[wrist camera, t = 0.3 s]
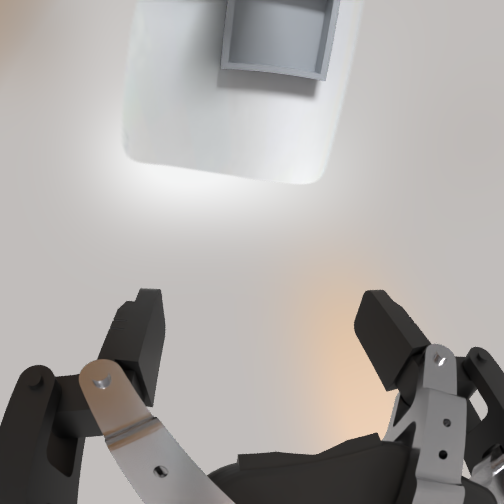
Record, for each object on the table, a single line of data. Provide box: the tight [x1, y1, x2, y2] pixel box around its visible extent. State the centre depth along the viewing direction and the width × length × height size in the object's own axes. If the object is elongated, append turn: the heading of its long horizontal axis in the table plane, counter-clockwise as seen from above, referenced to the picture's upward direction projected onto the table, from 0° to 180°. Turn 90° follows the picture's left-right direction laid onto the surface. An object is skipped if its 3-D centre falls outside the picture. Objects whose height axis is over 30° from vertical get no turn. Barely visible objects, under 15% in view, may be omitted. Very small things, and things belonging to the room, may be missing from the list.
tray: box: [221, 0, 340, 81], centre depth 24 cm, size 13×13×3 cm
